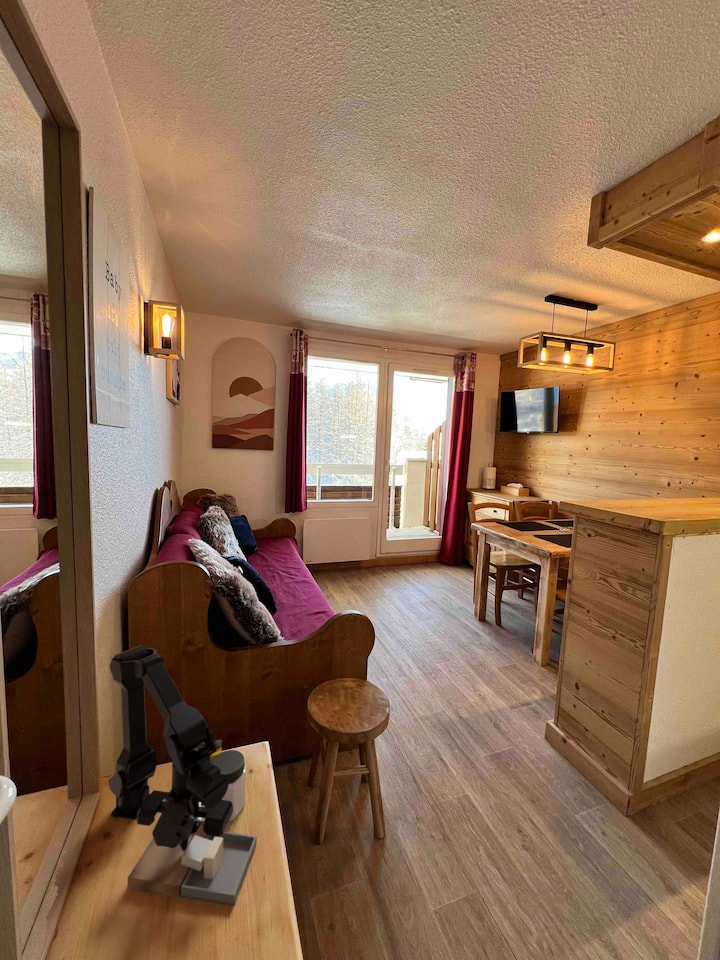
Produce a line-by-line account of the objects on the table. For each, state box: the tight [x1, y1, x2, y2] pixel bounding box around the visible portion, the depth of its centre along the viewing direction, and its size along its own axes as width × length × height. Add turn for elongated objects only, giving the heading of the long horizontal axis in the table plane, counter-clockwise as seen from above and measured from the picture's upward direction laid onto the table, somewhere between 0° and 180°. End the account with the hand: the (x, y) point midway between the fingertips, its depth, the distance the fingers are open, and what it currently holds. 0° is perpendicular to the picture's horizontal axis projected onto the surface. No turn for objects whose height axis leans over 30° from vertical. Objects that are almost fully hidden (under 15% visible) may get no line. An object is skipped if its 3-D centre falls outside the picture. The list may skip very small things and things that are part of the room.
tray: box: [180, 831, 258, 907], centre depth 82 cm, size 11×12×2 cm
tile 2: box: [204, 837, 223, 879], centre depth 82 cm, size 4×4×2 cm
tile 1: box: [181, 835, 212, 871], centre depth 82 cm, size 4×4×2 cm
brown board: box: [127, 826, 207, 898], centre depth 83 cm, size 11×12×2 cm
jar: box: [211, 749, 247, 822], centre depth 96 cm, size 9×8×12 cm
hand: (185, 849), depth 83 cm, fingers closed
